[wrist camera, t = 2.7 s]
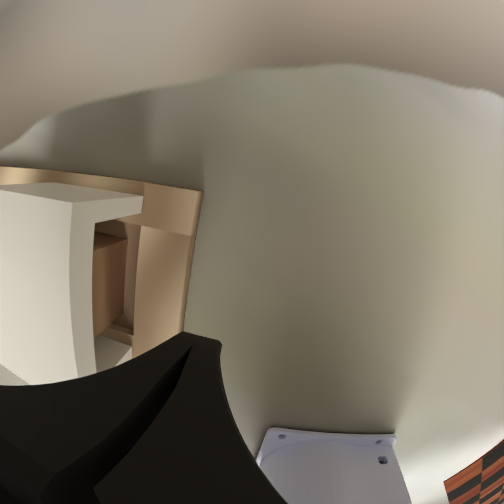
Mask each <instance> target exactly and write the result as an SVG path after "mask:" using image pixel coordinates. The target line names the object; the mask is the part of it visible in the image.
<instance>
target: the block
mask: <svg viewBox="0 0 504 504" xmlns="http://www.w3.org/2000/svg"><path fill="white" fill-rule="evenodd" d="M127 245H128V239H127V238H123V237H119V236H115V235H110V234H106V233H102V232H97V231H94V241H93V260H92V319H93V338H94V339H95V338H96V337H97V336H98V335H99V334H100V333H101V332H103V331H104V330H105V329H106V328H107V327H108V326H109V325H111V324H112V323H113V322H114V321H115V320H116V319H118V318H119V317H120V316H121V315H122V314H123V313H124V287H125V270H126V256H127Z"/></svg>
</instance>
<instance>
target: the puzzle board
mask: <svg viewBox="0 0 504 504" xmlns="http://www.w3.org/2000/svg"><path fill="white" fill-rule="evenodd" d="M47 182H55V183H62V184H69V185H76V186H83V187H90V188H96V189H103V190H109V191H116V192H122V193H128V194H134V195H140V196H143V203H142V210H141V213H140V214H135V215H130V216H126V217H121V218H116V219H112V220H107V221H103V222H98V223H95V228H94V231H97V232H102V233H106V234H110V235H115V236H119V237H123V238H127V239H128V245H127V256H126V270H125V287H124V313H123V314H122V315H121V316H120V317H119V318H118V319H116V320H115V321H114V322H113V323H112V324H111V325H109V326H108V327H107V328H106V329H105V330H104V331H103V332H101V333H100V334H99V335H101V336H104V337H107V338H109V339H112V340H115V341H117V342H120V343H123V344H126V345H129V346H132V359H133V358H135V357H137V356H139V355H141V354H143V353H145V352H147V351H149V350H150V349H152V348H154V347H156V346H158V345H159V344H161V343H163V342H164V341H166V340H168V339H170V338H171V337H173V336H175V335H176V334H178V333H180V332H182V331H183V327H184V318H185V310H186V302H187V294H188V286H189V279H190V272H191V265H192V258H193V252H194V245H195V239H196V233H197V227H198V221H199V215H200V209H201V203H202V198H203V192H204V191H199V190H193V189H187V188H181V187H175V186H169V185H163V184H156V183H150V182H143V181H137V180H130V179H122V178H115V177H108V176H100V175H92V174H83V173H75V172H66V171H56V170H46V169H35V168H23V167H10V166H0V185H8V184H25V183H47Z"/></svg>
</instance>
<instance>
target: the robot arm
mask: <svg viewBox="0 0 504 504" xmlns="http://www.w3.org/2000/svg"><path fill="white" fill-rule="evenodd" d="M221 348H222V344H221V342H220V341H219V340H215V339H211V338H207V337H203V336H199V335H195V334H191V333H187V332H183V331H182V332H180V333H178V334H176V335H175V336H173V337H171V338H170V339H168V340H166V341H164V342H163V343H161V344H159V345H158V346H156V347H154V348H152V349H150V350H149V351H147V352H145V353H143V354H141V355H139V356H137V357H135V358H133V359H131V360H128V361H126V362H124V363H122V364H120V365H117V366H115V367H112V368H110V369H107V370H104V371H101V372H98V373H95V374H91V375H88V376H84V377H80V378H76V379H71V380H66V381H61V382H56V383H49V384H40V385H25V386H3V385H0V504H412V503H411V499H410V496H409V493H408V490H407V487H406V484H405V481H404V478H403V475H402V472H401V470H400V467H399V464H398V461H397V458H396V456H395V453H394V450H393V447H392V446H393V445H394V443H395V442H396V440H397V438H396V435H395V434H338V433H322V432H311V431H301V430H292V429H284V428H277V427H273V428H270V429H268V430H267V432H266V435H265V437H264V440H263V443H262V445H261V448H260V450H259V453H258V455H257V458H256V460H255V459H254V457H253V456H252V454H251V452H250V451H249V449H248V447H247V445H246V444H245V442H244V440H243V438H242V436H241V434H240V432H239V429H238V427H237V425H236V423H235V420H234V418H233V415H232V412H231V410H230V407H229V404H228V400H227V397H226V393H225V389H224V385H223V379H222V374H221V366H220V353H221ZM282 434H283V435H282Z"/></svg>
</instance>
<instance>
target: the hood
mask: <svg viewBox="0 0 504 504" xmlns="http://www.w3.org/2000/svg"><path fill="white" fill-rule="evenodd" d="M142 203H143V196H140V195H134V194H128V193H122V192H116V191H109V190H103V189H96V188H90V187H83V186H76V185H69V184H62V183H55V182H47V183H25V184H8V185H0V364H2V365H3V366H4V367H6V368H7V369H8V370H10V371H11V372H13V373H14V374H15V375H17V376H18V377H20V378H21V379H23V380H24V381H26V382H27V383H29V384H30V385H40V384H49V383H56V382H61V381H66V380H71V379H76V378H80V377H84V376H88V375H91V374H95V373H98V372H101V371H104V370H107V369H110V368H112V367H115V366H117V365H120V364H122V363H124V362H126V361H128V360H131V359H132V346H129V345H126V344H123V343H120V342H117V341H115V340H112V339H109V338H107V337H104V336H101V335H98V336H97V337H96V338H95V339H94V338H93V319H92V260H93V241H94V228H95V223H98V222H103V221H107V220H112V219H116V218H121V217H126V216H130V215H135V214H140V213H141V210H142Z"/></svg>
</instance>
